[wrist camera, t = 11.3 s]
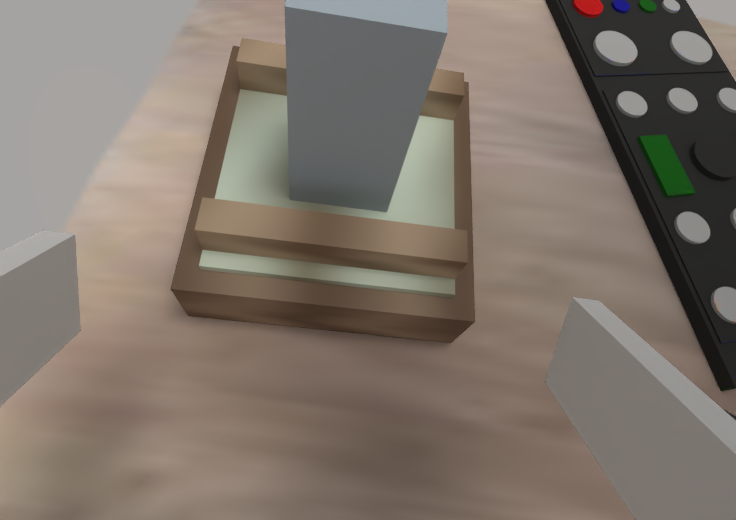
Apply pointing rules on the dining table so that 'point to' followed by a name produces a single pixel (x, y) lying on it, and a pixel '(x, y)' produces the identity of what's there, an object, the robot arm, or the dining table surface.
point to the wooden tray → (328, 221)
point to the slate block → (356, 94)
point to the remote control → (669, 145)
